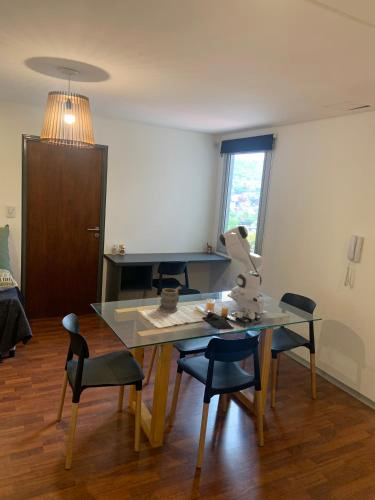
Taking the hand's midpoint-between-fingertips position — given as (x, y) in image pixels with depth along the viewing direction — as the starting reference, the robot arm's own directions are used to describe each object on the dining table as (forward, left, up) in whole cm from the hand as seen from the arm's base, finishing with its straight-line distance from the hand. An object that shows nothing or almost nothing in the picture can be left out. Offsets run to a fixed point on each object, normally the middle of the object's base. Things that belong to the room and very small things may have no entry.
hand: (248, 315), depth 248 cm
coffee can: (-10, +19, -5) cm, 22 cm away
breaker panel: (-4, 0, -5) cm, 6 cm away
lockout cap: (-16, -6, -5) cm, 18 cm away
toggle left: (-2, -6, -1) cm, 7 cm away
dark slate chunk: (-10, -19, -6) cm, 22 cm away
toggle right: (-2, +7, -1) cm, 7 cm away
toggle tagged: (+3, 0, -1) cm, 3 cm away
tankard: (-46, -29, -5) cm, 54 cm away
